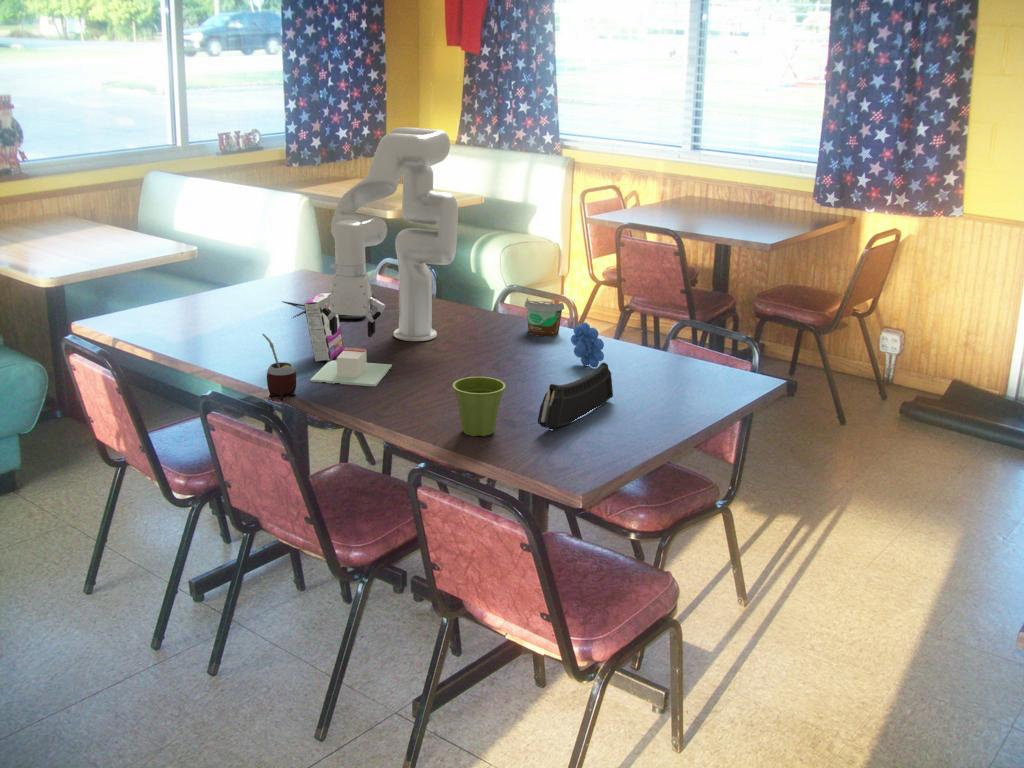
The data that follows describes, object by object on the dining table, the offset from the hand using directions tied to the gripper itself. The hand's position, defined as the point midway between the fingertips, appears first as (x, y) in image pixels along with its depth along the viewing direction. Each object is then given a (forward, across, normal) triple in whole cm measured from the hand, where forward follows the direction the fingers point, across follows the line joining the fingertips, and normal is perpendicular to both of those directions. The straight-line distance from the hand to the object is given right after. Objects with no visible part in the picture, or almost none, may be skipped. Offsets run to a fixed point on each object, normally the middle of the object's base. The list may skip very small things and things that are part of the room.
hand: (352, 334), depth 281 cm
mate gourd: (+10, -12, -22) cm, 27 cm away
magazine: (+11, +60, -20) cm, 64 cm away
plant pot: (+10, +39, -35) cm, 53 cm away
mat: (+10, 0, -1) cm, 11 cm away
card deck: (+10, 0, -1) cm, 10 cm away
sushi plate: (+13, -27, +62) cm, 69 cm away
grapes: (+12, +59, +20) cm, 63 cm away
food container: (+12, +44, +49) cm, 67 cm away
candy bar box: (+11, -10, +12) cm, 19 cm away
